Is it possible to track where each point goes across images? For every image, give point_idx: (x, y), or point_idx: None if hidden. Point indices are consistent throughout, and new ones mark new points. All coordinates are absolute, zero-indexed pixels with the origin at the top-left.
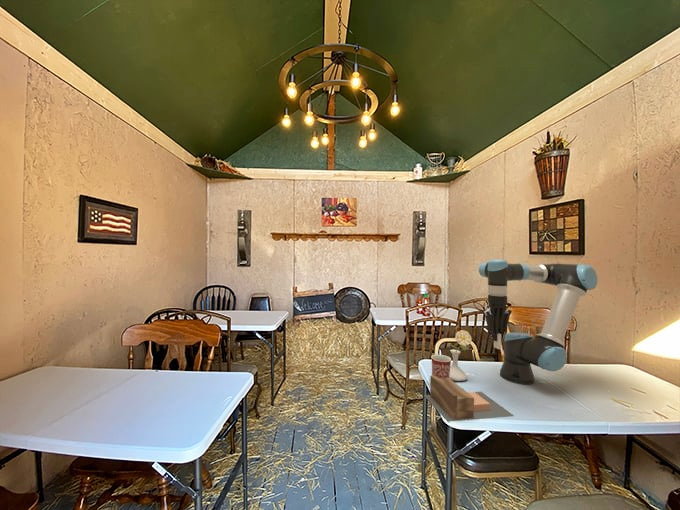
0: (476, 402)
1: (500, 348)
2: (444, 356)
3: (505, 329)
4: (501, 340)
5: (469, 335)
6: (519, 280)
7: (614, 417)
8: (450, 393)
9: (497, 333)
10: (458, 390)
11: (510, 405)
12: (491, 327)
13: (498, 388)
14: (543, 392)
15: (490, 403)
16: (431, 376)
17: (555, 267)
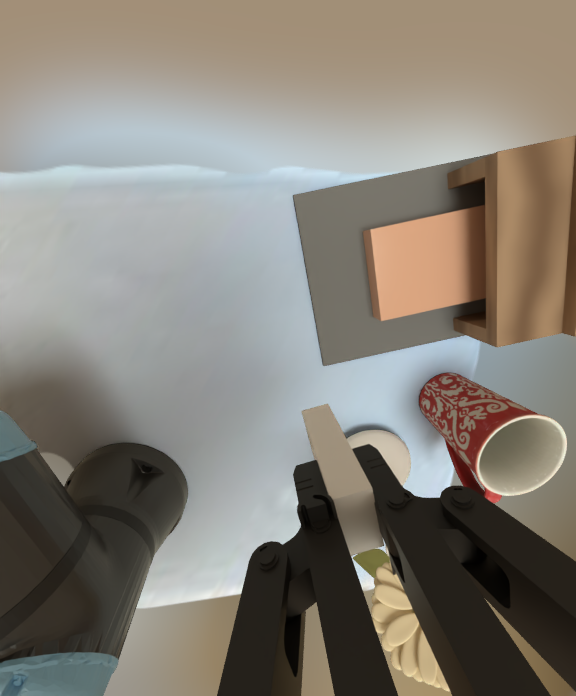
0: (416, 235)
1: (308, 411)
2: (487, 484)
3: (269, 575)
4: (299, 466)
5: (392, 637)
6: None
7: None
8: None
9: (385, 496)
10: (524, 222)
11: (264, 279)
12: (547, 544)
13: (243, 401)
14: (83, 390)
15: (335, 280)
16: None
17: None
